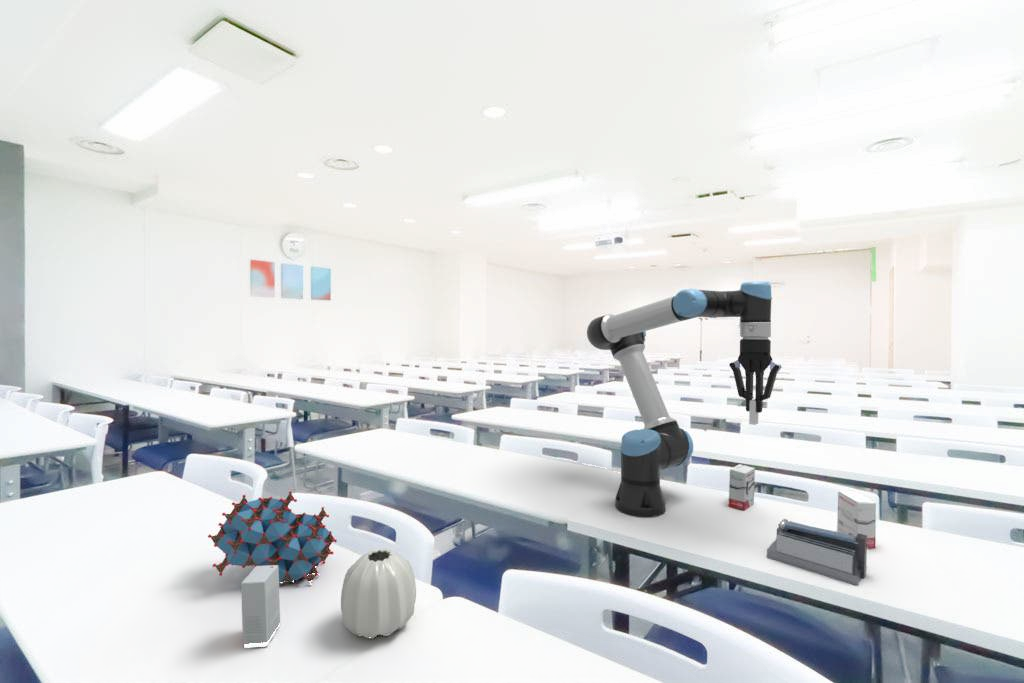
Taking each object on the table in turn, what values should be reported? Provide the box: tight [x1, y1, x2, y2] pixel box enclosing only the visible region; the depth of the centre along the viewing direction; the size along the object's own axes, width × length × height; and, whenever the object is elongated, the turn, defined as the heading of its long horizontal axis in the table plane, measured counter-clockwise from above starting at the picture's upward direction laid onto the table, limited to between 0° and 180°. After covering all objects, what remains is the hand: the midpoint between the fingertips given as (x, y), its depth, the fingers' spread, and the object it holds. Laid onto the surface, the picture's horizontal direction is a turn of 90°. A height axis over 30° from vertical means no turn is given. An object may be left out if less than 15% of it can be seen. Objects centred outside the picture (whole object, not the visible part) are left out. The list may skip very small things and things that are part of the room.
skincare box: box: [240, 565, 281, 645], centre depth 86 cm, size 6×4×12 cm
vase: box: [340, 548, 417, 639], centre depth 90 cm, size 14×14×13 cm
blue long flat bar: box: [777, 518, 855, 543], centre depth 113 cm, size 15×4×1 cm, turn 46°
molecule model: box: [207, 490, 338, 583], centre depth 107 cm, size 16×14×25 cm
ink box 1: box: [728, 464, 756, 511], centre depth 148 cm, size 8×5×12 cm, turn 134°
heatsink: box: [766, 520, 868, 586], centre depth 113 cm, size 19×12×9 cm, turn 46°
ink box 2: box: [836, 490, 877, 549], centre depth 124 cm, size 9×5×12 cm, turn 175°
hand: (753, 423), depth 131 cm, fingers closed
